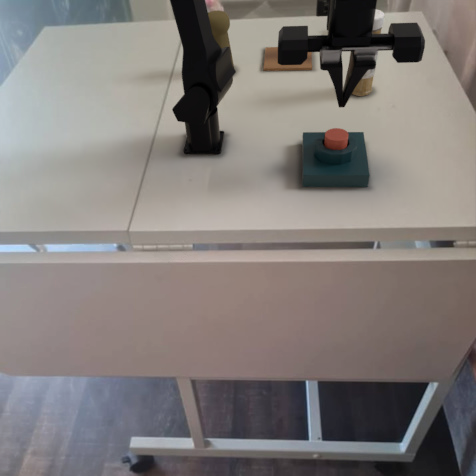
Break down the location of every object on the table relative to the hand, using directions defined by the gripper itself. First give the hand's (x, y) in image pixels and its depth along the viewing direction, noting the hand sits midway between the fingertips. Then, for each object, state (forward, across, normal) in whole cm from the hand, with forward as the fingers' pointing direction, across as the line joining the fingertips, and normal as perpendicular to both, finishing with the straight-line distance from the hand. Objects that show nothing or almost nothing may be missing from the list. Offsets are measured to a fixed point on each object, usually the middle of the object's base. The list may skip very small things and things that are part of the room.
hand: (341, 106), depth 70 cm
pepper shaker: (+10, +22, -33) cm, 41 cm away
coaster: (+10, +8, -38) cm, 40 cm away
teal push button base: (+10, 0, 0) cm, 10 cm away
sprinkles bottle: (+10, -6, -24) cm, 27 cm away
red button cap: (+6, 0, 0) cm, 6 cm away
